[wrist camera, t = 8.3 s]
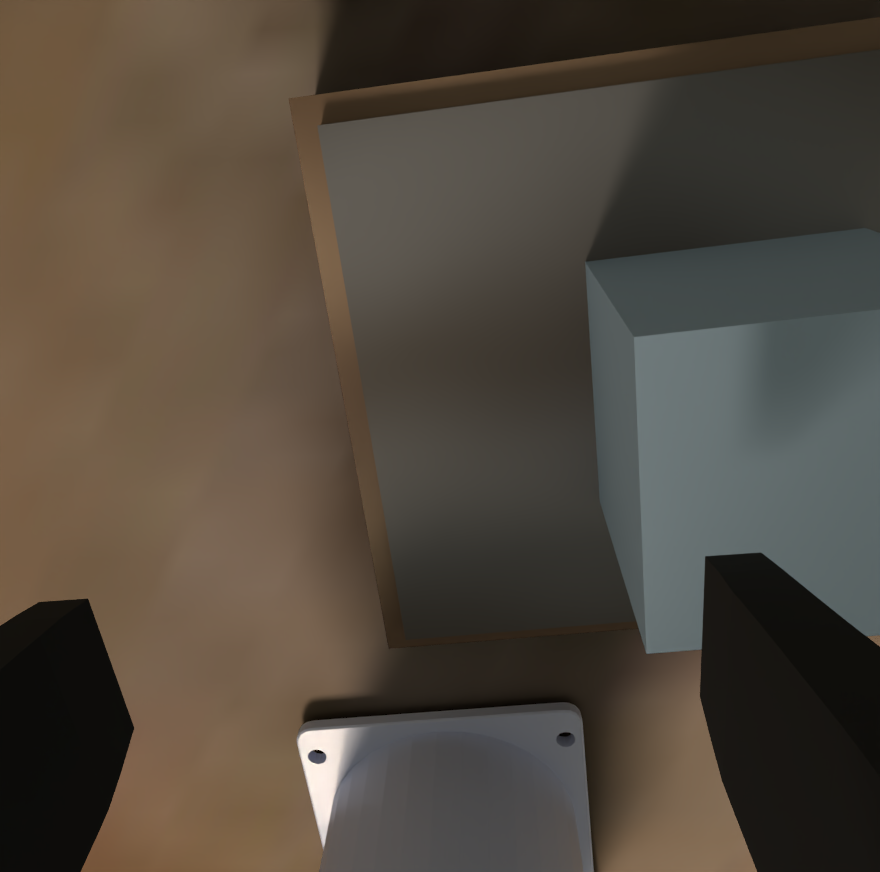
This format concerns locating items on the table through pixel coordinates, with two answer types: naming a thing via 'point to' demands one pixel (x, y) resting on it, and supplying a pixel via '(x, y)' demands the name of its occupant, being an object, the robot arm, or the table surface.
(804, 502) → the dusty blue block
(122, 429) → the table surface
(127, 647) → the table surface
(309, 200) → the wooden tray
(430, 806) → the robot arm
